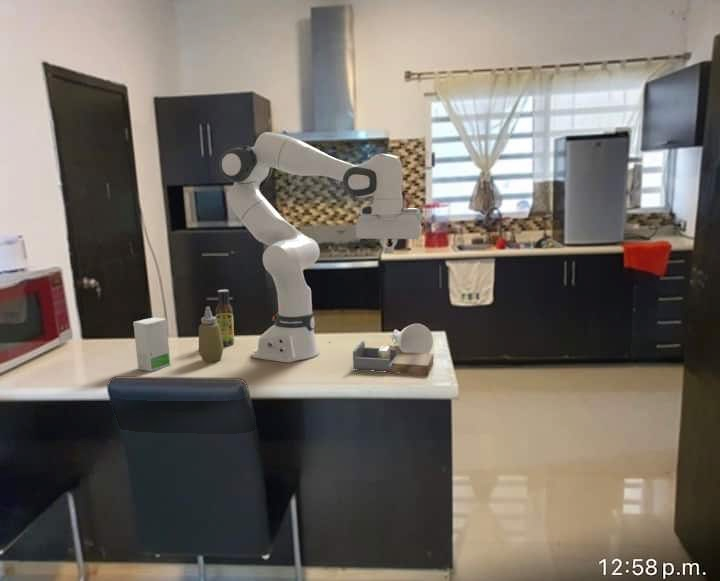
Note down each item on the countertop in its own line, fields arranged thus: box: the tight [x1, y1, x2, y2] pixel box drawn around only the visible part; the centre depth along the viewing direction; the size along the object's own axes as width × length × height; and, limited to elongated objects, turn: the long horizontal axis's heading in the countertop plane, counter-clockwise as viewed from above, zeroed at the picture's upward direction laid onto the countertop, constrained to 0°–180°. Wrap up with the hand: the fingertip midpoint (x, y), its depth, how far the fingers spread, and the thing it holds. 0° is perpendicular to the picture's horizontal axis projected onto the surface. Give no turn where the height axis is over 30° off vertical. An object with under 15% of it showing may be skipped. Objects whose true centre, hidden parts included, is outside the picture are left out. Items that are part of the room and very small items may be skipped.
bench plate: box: [392, 351, 434, 376], centre depth 173 cm, size 11×11×3 cm
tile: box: [378, 345, 391, 359], centre depth 175 cm, size 5×5×2 cm
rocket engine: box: [389, 323, 434, 354], centre depth 190 cm, size 12×12×18 cm
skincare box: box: [132, 316, 172, 373], centre depth 180 cm, size 8×7×16 cm
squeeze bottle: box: [198, 306, 225, 363], centre depth 185 cm, size 8×8×18 cm
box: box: [352, 340, 398, 373], centre depth 176 cm, size 12×11×6 cm
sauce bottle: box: [214, 288, 235, 347], centre depth 202 cm, size 6×6×20 cm
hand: (388, 253), depth 175 cm, fingers closed
